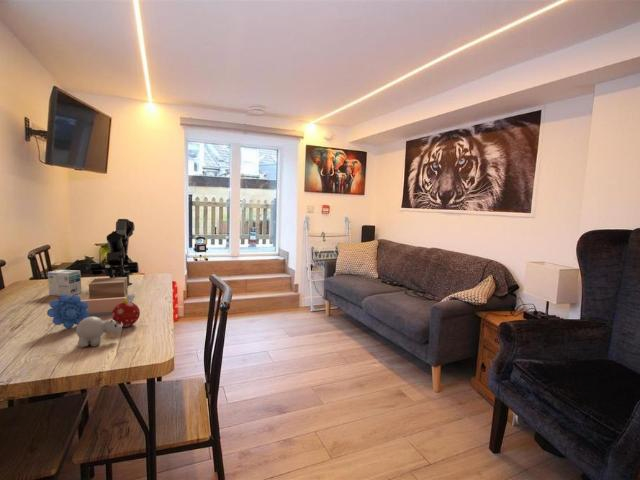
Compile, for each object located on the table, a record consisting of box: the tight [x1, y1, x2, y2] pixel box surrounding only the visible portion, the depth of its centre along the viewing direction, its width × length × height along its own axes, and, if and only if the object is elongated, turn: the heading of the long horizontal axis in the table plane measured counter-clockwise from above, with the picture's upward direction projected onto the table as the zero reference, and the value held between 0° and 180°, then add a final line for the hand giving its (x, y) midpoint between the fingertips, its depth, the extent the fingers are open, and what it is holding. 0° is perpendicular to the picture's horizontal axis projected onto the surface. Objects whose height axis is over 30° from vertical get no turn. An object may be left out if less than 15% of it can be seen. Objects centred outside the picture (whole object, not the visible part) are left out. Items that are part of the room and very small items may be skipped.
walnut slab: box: [88, 277, 129, 300], centre depth 139 cm, size 10×12×7 cm
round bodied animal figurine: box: [75, 316, 123, 348], centre depth 102 cm, size 7×12×8 cm, turn 120°
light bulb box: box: [47, 269, 83, 297], centre depth 152 cm, size 11×7×11 cm, turn 84°
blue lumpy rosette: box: [46, 294, 90, 329], centre depth 112 cm, size 12×7×12 cm, turn 137°
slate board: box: [89, 294, 135, 317], centre depth 138 cm, size 25×16×1 cm, turn 23°
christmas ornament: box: [111, 298, 141, 328], centre depth 116 cm, size 9×9×10 cm
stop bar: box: [80, 297, 127, 313], centre depth 127 cm, size 2×16×5 cm, turn 113°
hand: (113, 284), depth 147 cm, fingers closed
